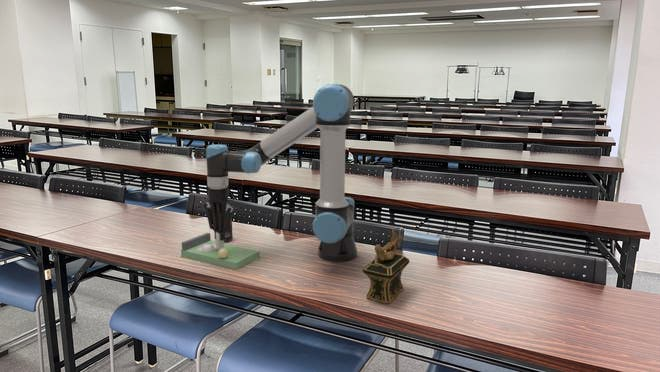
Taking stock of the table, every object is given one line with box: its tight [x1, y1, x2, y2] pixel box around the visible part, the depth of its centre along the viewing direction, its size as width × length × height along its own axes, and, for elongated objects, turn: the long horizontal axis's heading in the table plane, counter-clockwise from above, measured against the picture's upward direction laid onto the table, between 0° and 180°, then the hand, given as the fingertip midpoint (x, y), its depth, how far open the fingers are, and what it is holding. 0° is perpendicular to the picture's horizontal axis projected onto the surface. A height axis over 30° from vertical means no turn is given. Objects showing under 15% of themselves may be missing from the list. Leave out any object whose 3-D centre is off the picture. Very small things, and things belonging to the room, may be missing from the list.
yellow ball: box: [218, 248, 228, 258], centre depth 168 cm, size 4×4×4 cm
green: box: [180, 232, 261, 271], centre depth 176 cm, size 26×14×6 cm, turn 63°
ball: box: [202, 245, 212, 250], centre depth 179 cm, size 4×4×4 cm
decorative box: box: [362, 228, 410, 304], centre depth 148 cm, size 20×10×20 cm, turn 151°
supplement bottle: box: [224, 219, 234, 243], centre depth 194 cm, size 6×6×11 cm
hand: (220, 248), depth 176 cm, fingers closed
